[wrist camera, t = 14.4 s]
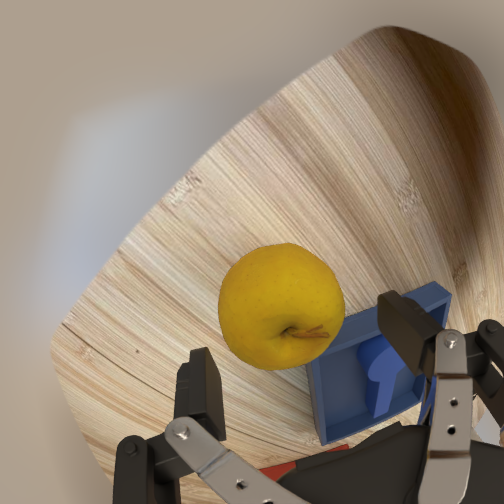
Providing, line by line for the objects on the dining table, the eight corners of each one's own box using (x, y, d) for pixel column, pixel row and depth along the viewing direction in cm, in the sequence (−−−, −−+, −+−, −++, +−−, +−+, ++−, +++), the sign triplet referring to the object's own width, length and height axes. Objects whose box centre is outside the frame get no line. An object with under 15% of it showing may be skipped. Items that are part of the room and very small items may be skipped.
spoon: (389, 392, 25) (398, 406, 23) (354, 407, 25) (362, 423, 23) (400, 318, 21) (415, 334, 19) (356, 337, 21) (369, 356, 19)
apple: (326, 235, 18) (395, 298, 10) (294, 318, 20) (333, 402, 12) (229, 212, 16) (246, 273, 9) (206, 304, 18) (209, 399, 11)
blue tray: (315, 429, 27) (321, 446, 24) (299, 332, 20) (309, 355, 18) (412, 387, 27) (422, 401, 25) (434, 280, 21) (452, 294, 19)
